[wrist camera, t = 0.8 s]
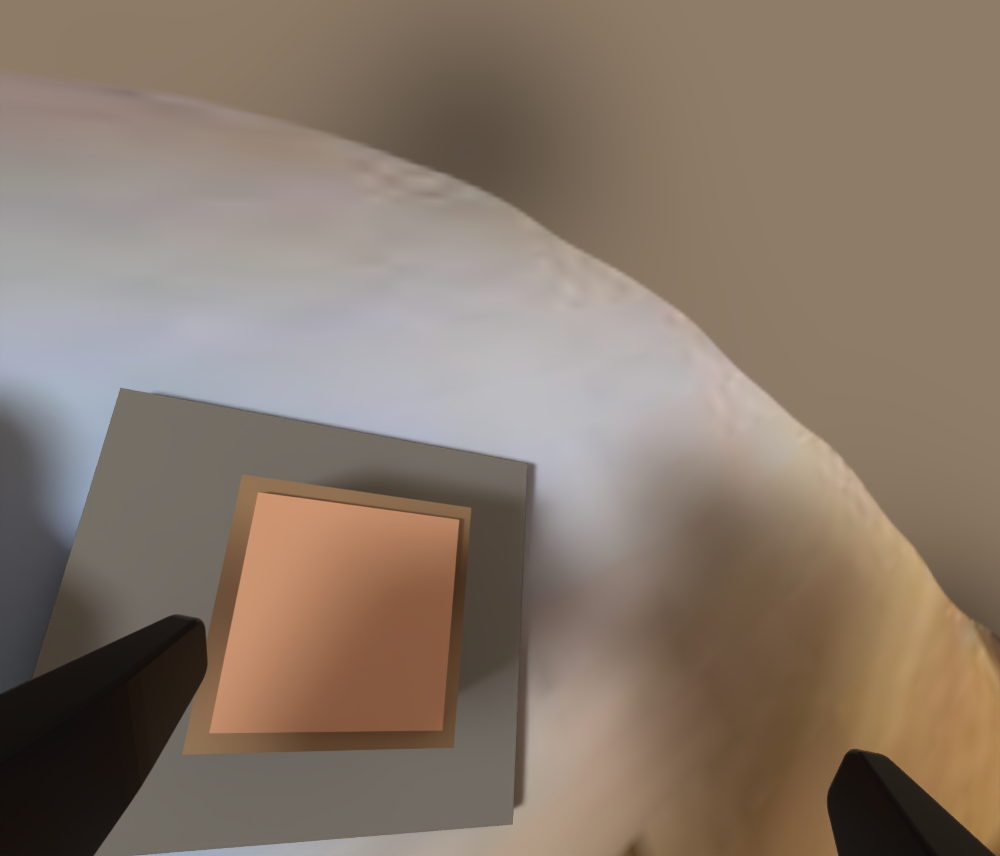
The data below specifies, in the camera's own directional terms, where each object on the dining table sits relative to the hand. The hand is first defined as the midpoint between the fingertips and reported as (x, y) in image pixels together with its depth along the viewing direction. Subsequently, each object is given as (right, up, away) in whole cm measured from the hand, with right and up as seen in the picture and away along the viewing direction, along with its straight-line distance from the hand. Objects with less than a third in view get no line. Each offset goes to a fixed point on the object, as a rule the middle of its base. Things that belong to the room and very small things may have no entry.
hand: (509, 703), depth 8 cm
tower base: (-7, -3, +14) cm, 16 cm away
